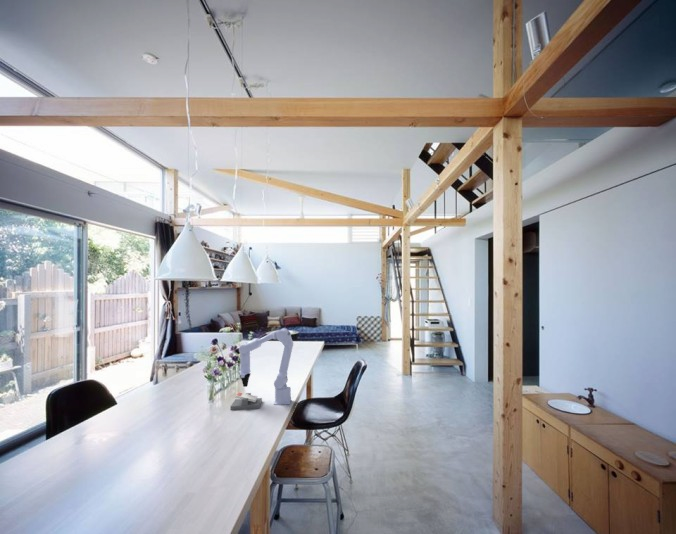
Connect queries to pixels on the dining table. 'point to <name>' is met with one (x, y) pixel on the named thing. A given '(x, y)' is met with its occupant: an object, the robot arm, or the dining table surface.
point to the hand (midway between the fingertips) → (245, 386)
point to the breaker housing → (245, 404)
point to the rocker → (246, 396)
